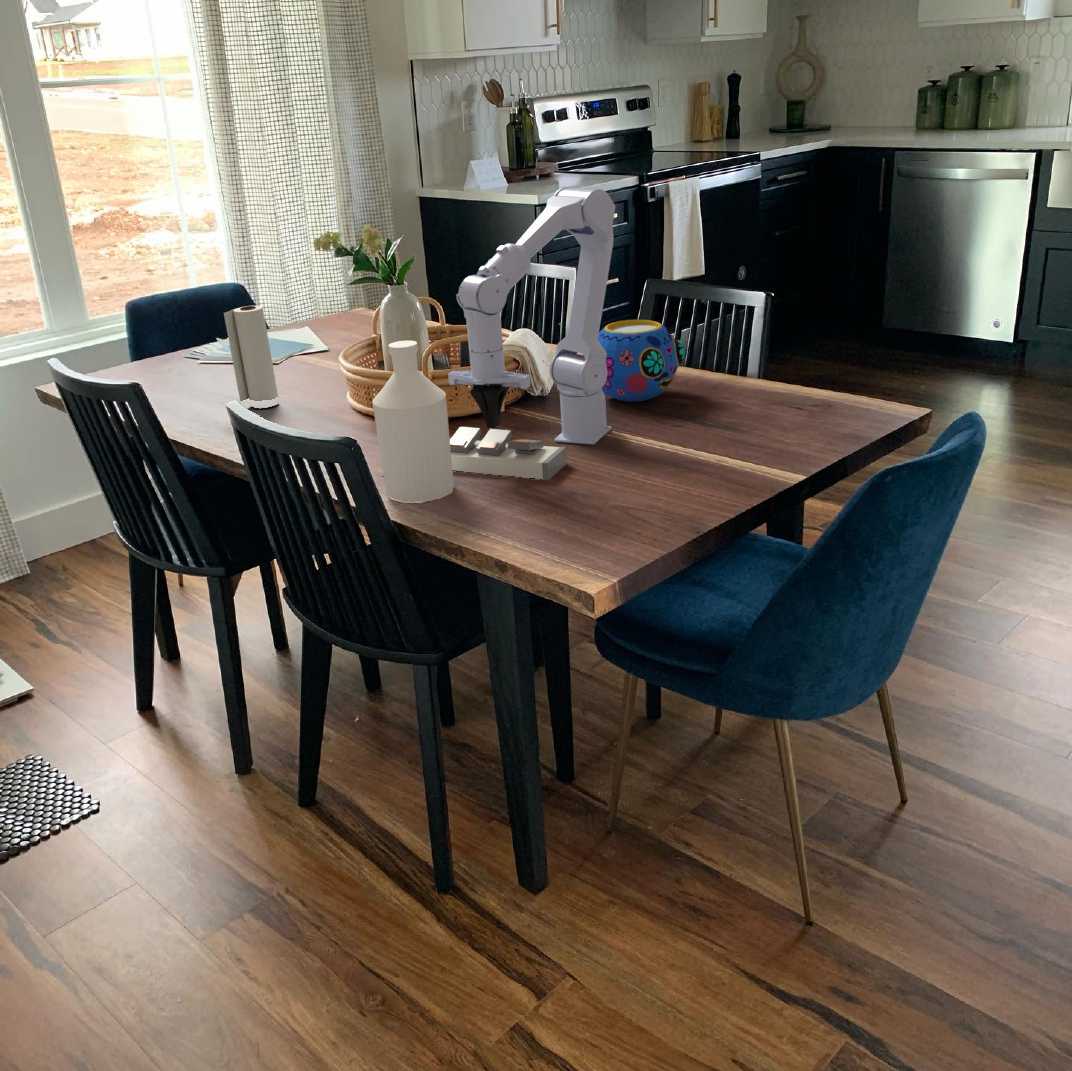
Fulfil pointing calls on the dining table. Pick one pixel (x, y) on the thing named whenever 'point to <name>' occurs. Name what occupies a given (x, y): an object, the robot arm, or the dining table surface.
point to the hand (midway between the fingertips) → (492, 426)
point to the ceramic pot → (639, 359)
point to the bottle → (413, 430)
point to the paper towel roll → (251, 353)
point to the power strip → (513, 462)
